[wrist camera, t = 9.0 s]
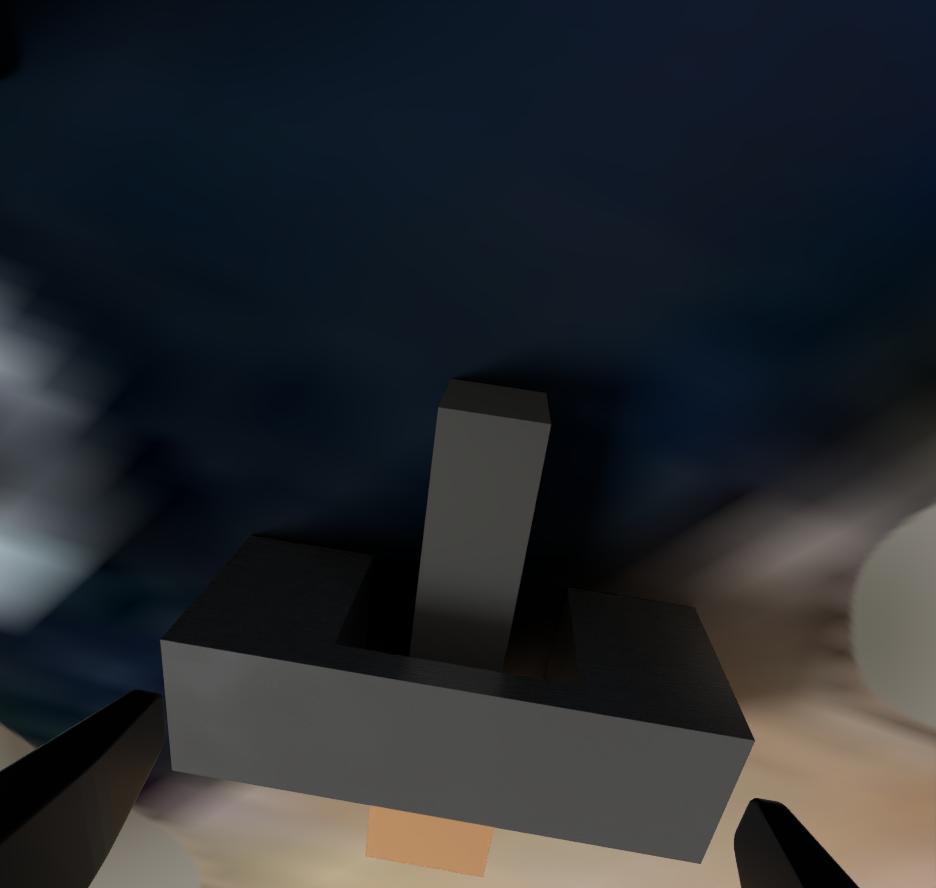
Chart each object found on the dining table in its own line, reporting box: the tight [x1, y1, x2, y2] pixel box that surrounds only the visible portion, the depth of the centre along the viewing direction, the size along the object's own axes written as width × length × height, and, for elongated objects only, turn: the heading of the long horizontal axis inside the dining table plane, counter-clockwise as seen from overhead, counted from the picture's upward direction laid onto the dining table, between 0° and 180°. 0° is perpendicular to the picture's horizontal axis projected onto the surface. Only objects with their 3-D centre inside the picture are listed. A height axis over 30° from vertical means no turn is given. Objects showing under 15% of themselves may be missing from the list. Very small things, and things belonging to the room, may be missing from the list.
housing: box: [161, 536, 755, 864], centre depth 18 cm, size 5×16×6 cm, turn 82°
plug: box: [366, 379, 551, 877], centre depth 19 cm, size 19×4×4 cm, turn 172°
